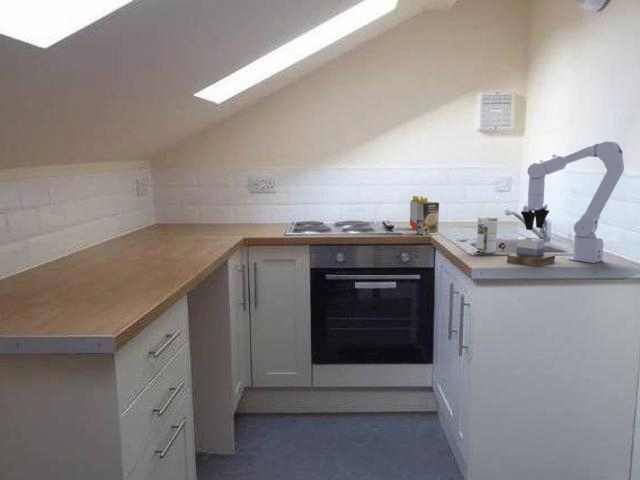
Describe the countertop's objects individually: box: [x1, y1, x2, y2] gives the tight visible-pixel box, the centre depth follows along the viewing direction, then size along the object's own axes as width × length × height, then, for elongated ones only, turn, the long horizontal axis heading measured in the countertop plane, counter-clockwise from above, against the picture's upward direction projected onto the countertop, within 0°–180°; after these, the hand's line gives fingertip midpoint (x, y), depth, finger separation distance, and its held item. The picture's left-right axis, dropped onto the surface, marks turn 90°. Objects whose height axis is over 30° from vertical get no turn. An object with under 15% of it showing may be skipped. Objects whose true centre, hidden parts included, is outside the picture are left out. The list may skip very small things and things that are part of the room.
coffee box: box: [415, 201, 440, 235], centre depth 269 cm, size 9×6×16 cm
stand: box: [506, 253, 556, 267], centre depth 197 cm, size 12×12×2 cm
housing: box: [516, 236, 545, 258], centre depth 197 cm, size 8×5×6 cm, turn 39°
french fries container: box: [409, 195, 429, 230], centre depth 285 cm, size 5×11×18 cm, turn 41°
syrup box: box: [476, 215, 498, 254], centre depth 218 cm, size 6×6×14 cm
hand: (534, 228), depth 210 cm, fingers open, 7 cm apart
